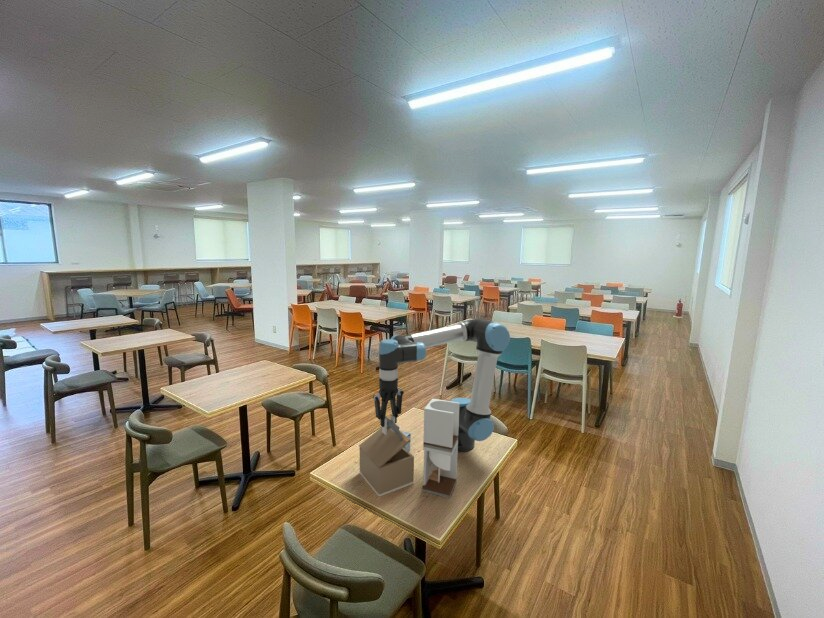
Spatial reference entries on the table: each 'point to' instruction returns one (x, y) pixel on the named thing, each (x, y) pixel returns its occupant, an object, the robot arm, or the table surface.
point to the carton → (388, 472)
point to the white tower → (440, 447)
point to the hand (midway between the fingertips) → (388, 431)
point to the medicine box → (409, 438)
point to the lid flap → (384, 444)
